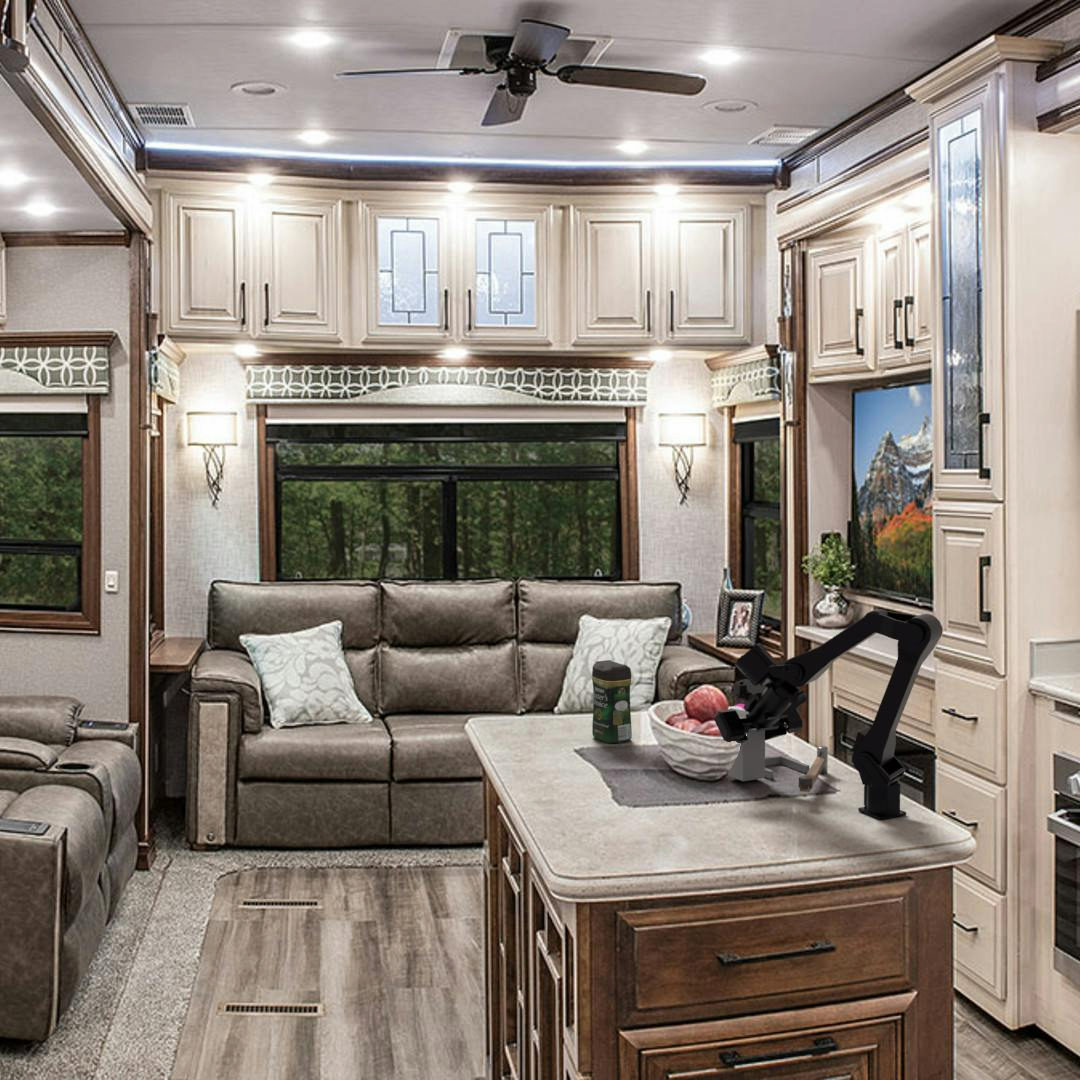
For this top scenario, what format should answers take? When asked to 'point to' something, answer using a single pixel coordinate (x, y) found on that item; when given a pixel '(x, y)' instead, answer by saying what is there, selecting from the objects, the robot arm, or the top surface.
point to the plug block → (750, 758)
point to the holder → (786, 762)
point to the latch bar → (811, 774)
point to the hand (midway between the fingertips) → (742, 743)
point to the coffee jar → (611, 702)
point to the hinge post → (823, 752)
